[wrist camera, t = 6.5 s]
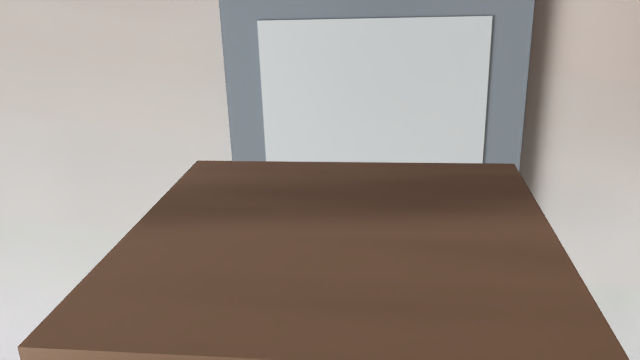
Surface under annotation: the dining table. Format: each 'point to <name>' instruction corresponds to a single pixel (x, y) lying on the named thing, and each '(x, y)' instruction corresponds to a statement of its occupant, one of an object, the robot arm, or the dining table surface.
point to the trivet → (376, 79)
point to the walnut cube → (334, 271)
